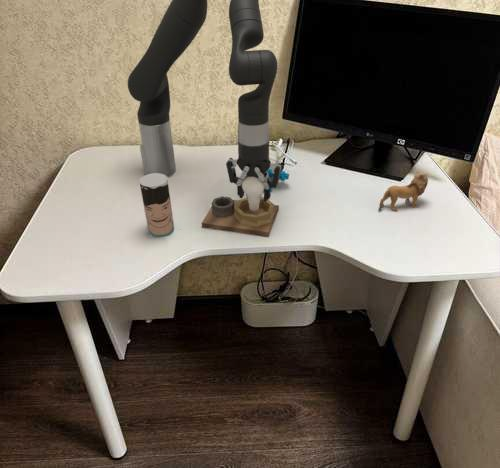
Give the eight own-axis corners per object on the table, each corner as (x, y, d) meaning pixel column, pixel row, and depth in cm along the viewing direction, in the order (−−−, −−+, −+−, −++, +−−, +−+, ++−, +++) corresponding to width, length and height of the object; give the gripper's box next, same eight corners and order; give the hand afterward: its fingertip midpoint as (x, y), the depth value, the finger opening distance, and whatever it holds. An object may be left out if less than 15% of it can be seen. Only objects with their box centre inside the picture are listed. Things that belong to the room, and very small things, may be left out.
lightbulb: (268, 207, 124) (268, 170, 117) (261, 219, 119) (261, 182, 112) (247, 203, 125) (246, 167, 119) (239, 215, 121) (238, 178, 114)
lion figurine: (415, 195, 133) (421, 168, 127) (427, 204, 129) (434, 176, 124) (372, 207, 128) (377, 178, 123) (384, 217, 124) (389, 188, 119)
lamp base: (201, 227, 121) (200, 213, 119) (217, 202, 131) (216, 188, 129) (268, 236, 117) (268, 222, 115) (278, 210, 128) (279, 196, 125)
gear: (293, 177, 139) (284, 166, 130) (291, 195, 138) (282, 186, 129) (258, 176, 143) (248, 165, 134) (256, 194, 142) (245, 185, 133)
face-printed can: (143, 235, 119) (134, 184, 110) (155, 221, 124) (147, 171, 115) (167, 239, 117) (159, 188, 108) (178, 225, 122) (172, 175, 114)
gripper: (220, 141, 108) (223, 202, 118) (279, 147, 105) (278, 209, 115) (229, 129, 114) (231, 187, 124) (286, 134, 111) (283, 194, 121)
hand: (254, 198), depth 120 cm, fingers closed on lightbulb, 6 cm apart
